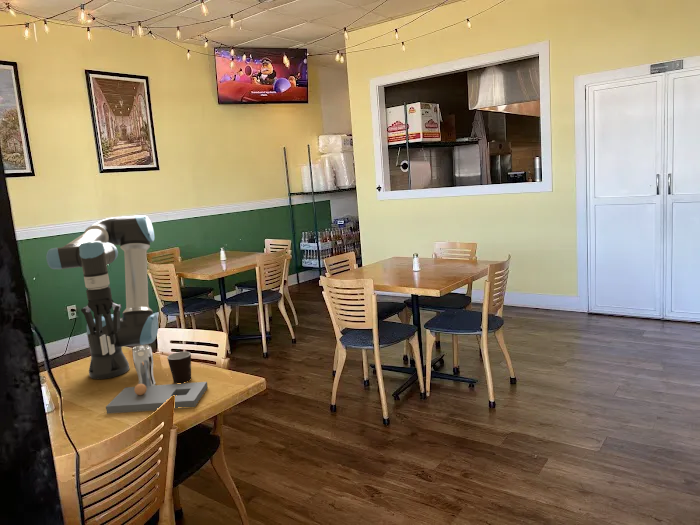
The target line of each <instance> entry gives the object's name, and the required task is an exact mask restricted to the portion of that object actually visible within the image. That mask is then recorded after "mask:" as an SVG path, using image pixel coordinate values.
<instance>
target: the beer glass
mask: <svg viewBox="0 0 700 525" xmlns="http://www.w3.org/2000/svg"><path fill="white" fill-rule="evenodd" d="M151 346H152V345H151V344H150V345H149V344H144V345H135V346H134V347H132V349H131V353H132V362H133V364H134V368H135V371H136V374H137V377H138V384H144V385H145V386H153V385H156V384H157V382H156V380H155V377H154V357H153V356H154V355H153V350H152V347H151Z"/></svg>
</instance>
